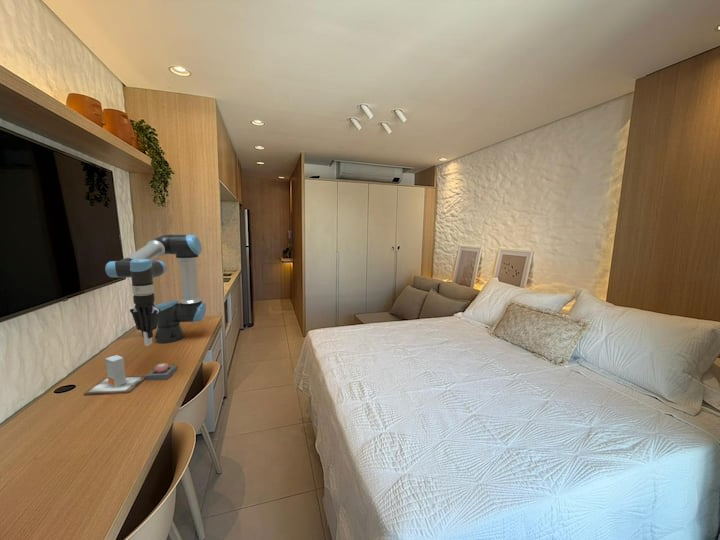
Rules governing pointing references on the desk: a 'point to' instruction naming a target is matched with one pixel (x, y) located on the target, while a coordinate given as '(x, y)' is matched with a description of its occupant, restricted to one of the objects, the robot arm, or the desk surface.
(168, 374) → the button base
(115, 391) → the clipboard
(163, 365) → the button
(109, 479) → the desk surface
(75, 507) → the desk surface
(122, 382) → the skincare box
